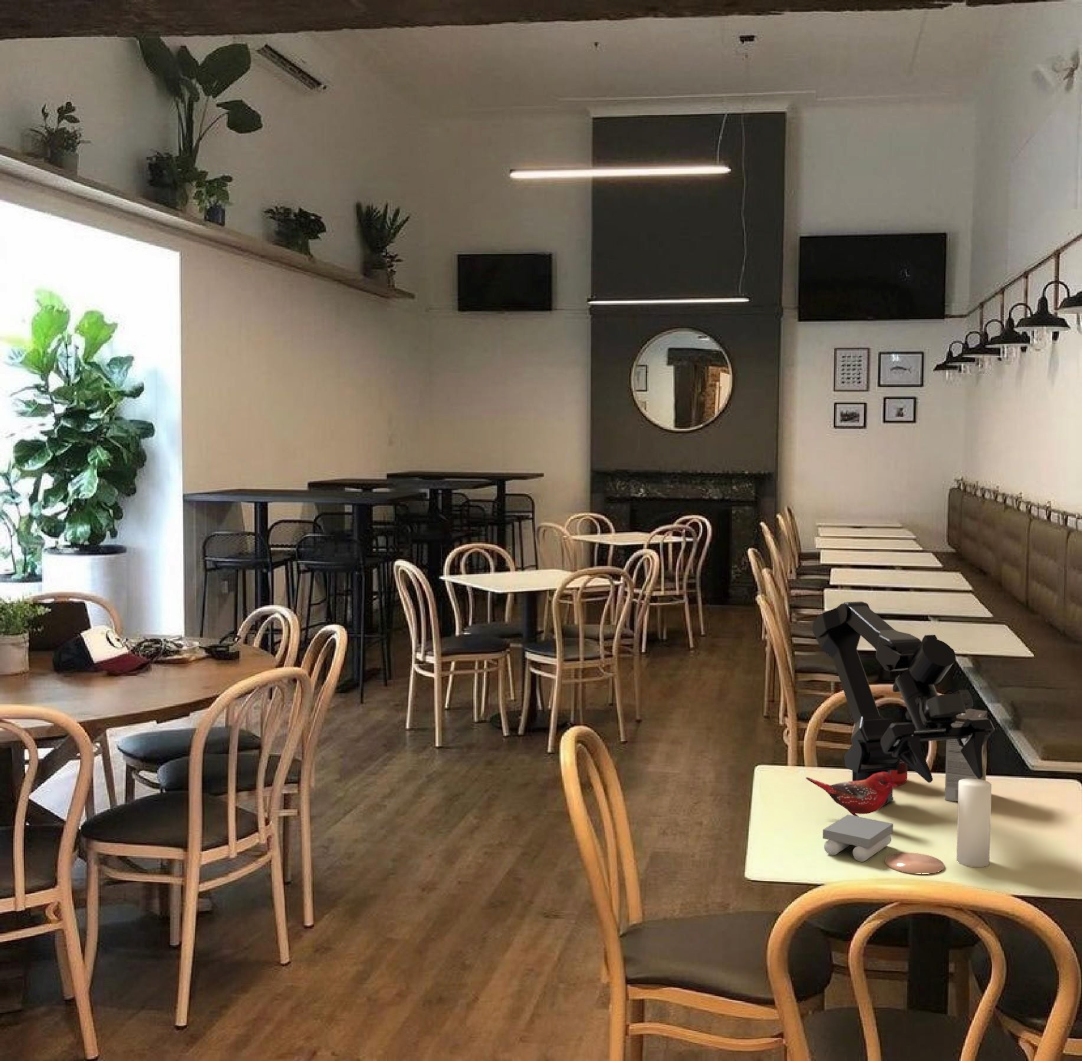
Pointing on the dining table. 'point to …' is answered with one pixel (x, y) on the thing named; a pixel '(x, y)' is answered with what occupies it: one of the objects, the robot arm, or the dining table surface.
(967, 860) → the post
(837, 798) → the decorative bird figurine
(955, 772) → the coffee box
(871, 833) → the slab on rollers
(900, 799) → the dining table surface
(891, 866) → the pad
